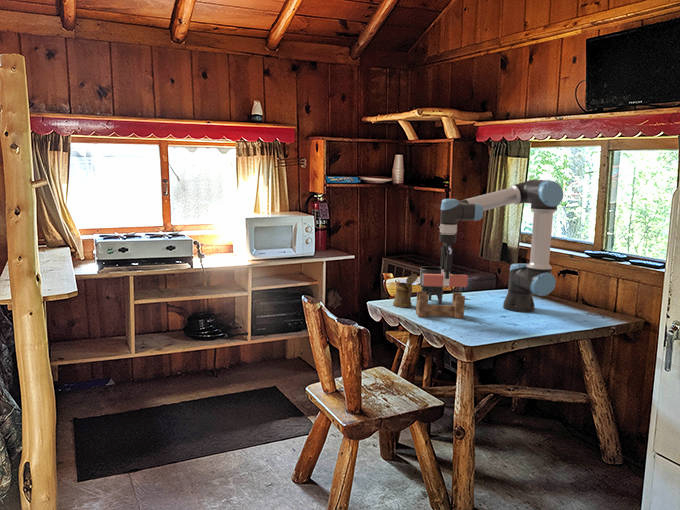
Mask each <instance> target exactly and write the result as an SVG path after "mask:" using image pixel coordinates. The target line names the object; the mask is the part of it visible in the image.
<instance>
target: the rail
mask: <svg viewBox="0 0 680 510" xmlns="http://www.w3.org/2000/svg"><path fill="white" fill-rule="evenodd" d="M443 276H444V274H422V285H423V286H443ZM468 281H469V275H467V274H456V273H454V274H451V273H450V281H449V286H444V287H448V288H449V287H451V288H453V287H454V288H468Z"/></svg>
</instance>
